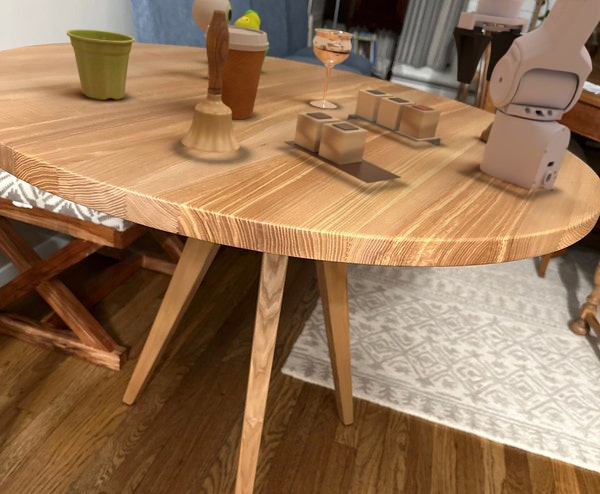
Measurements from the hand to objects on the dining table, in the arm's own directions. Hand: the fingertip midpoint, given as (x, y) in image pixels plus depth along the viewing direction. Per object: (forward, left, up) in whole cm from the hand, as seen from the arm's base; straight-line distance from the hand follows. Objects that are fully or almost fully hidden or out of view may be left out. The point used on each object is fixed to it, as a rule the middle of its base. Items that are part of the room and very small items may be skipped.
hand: (478, 82), depth 86 cm
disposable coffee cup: (+23, +29, -10) cm, 38 cm away
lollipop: (+46, +19, -10) cm, 51 cm away
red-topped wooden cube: (+3, +8, -8) cm, 12 cm away
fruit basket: (+55, +6, -10) cm, 56 cm away
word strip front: (-2, +29, -9) cm, 31 cm away
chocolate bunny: (-3, -8, -10) cm, 13 cm away
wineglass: (+25, +8, -10) cm, 28 cm away
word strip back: (+8, +8, -9) cm, 15 cm away
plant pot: (+36, +44, -10) cm, 58 cm away
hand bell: (+8, +42, -10) cm, 44 cm away
